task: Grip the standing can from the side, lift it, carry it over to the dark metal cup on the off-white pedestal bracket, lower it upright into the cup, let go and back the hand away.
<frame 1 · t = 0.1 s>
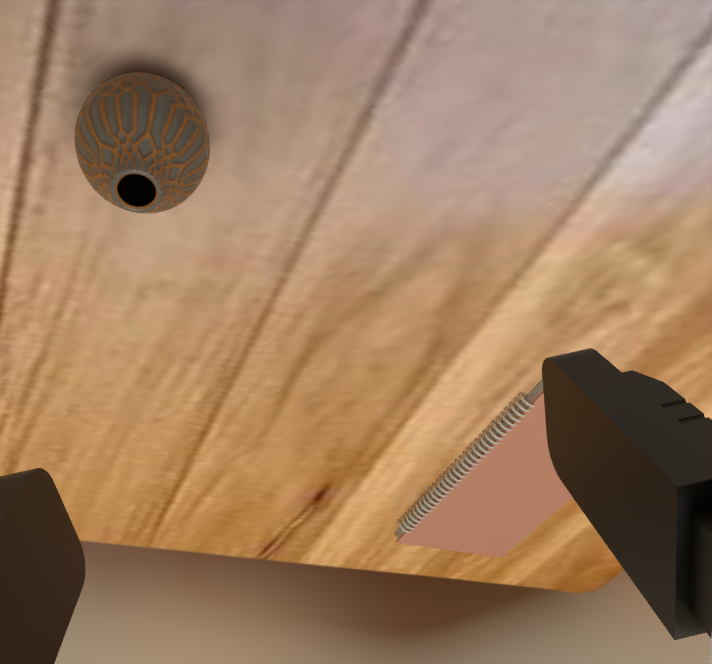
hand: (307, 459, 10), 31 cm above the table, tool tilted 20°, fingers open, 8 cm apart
vase: (149, 114, 38), on the table
notebook: (511, 469, 70), on the table
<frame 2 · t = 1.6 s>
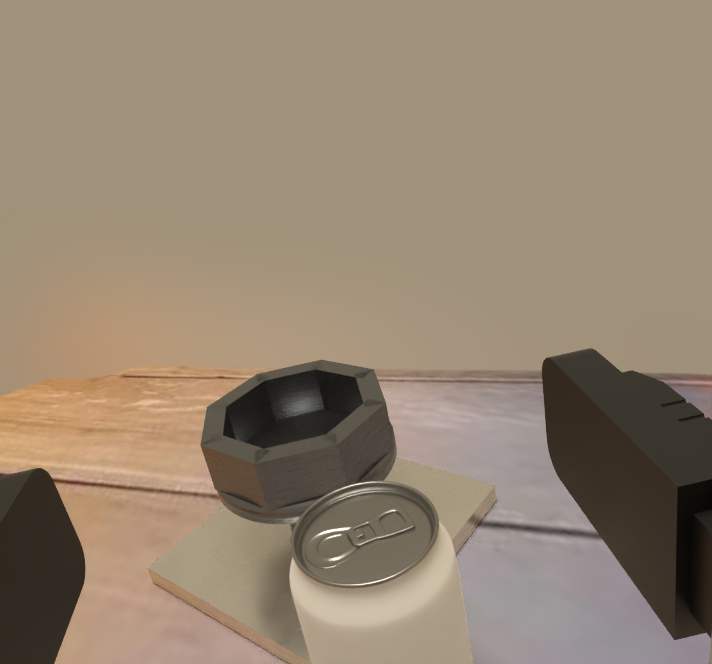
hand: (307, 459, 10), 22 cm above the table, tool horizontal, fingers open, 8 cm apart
cup bracket: (327, 540, 41), on the table
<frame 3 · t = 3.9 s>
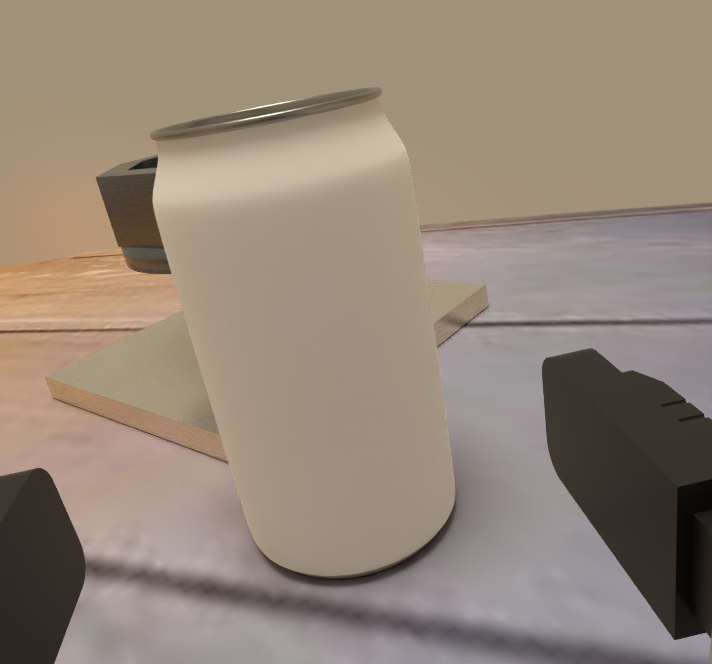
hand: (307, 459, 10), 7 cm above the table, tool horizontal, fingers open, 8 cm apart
can: (355, 514, 20), on the table
cup bracket: (273, 351, 33), on the table
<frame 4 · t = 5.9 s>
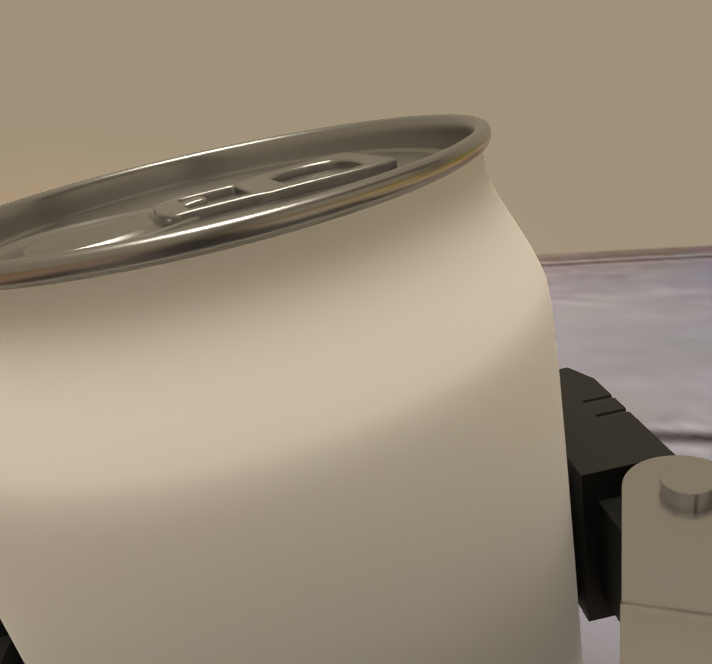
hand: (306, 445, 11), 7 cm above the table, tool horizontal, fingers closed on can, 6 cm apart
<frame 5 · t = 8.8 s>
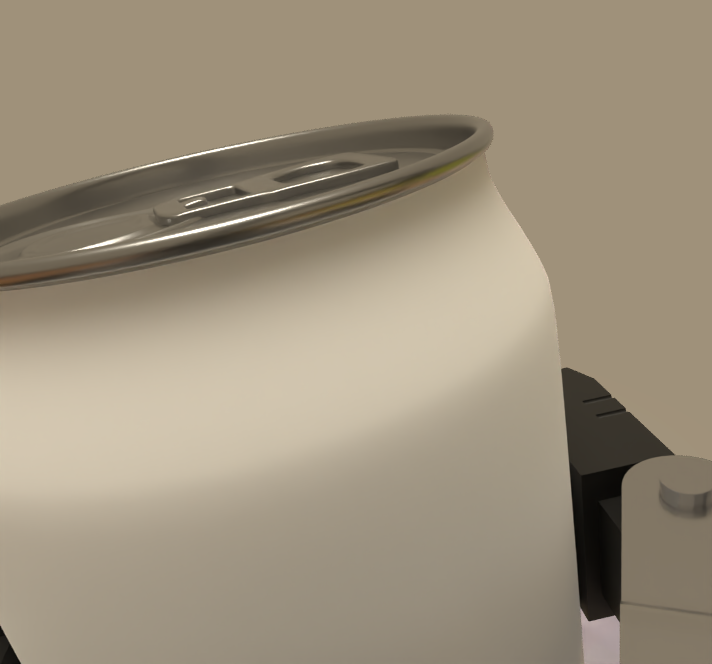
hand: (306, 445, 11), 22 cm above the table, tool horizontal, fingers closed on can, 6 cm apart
when the fingers open (16 cm above the table, at t = 11.3 s): can drops 1 cm, resting on cup bracket.
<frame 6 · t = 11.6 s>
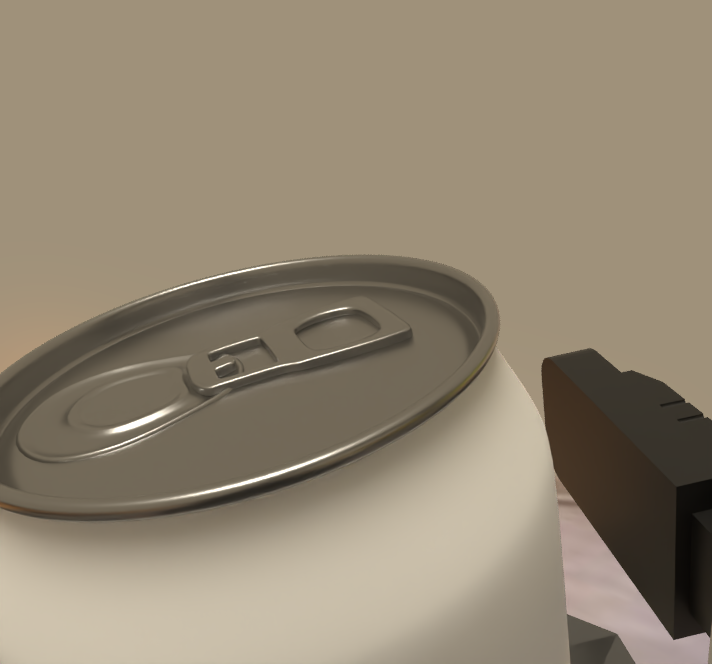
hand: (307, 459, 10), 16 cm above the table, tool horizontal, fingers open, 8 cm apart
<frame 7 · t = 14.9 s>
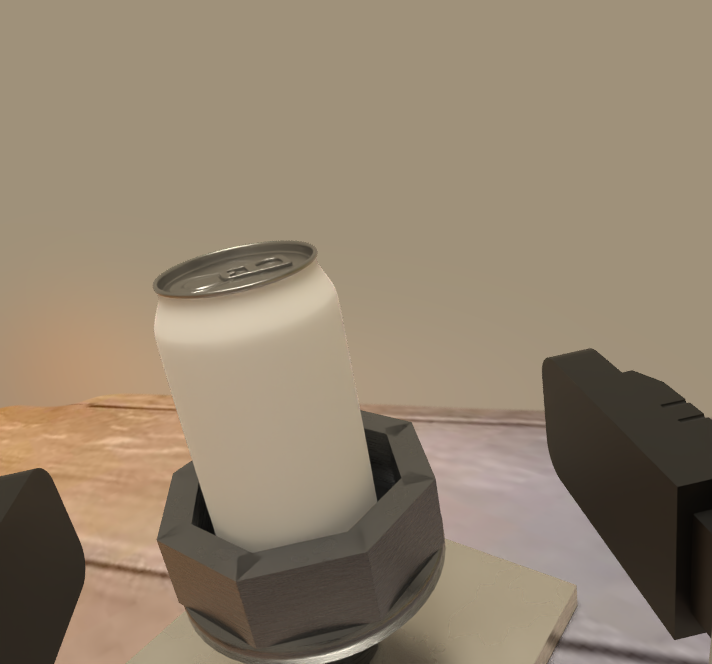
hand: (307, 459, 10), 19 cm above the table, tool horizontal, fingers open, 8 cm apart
can: (305, 547, 26), point 7 cm above the table, touching cup bracket
cup bracket: (340, 660, 29), on the table
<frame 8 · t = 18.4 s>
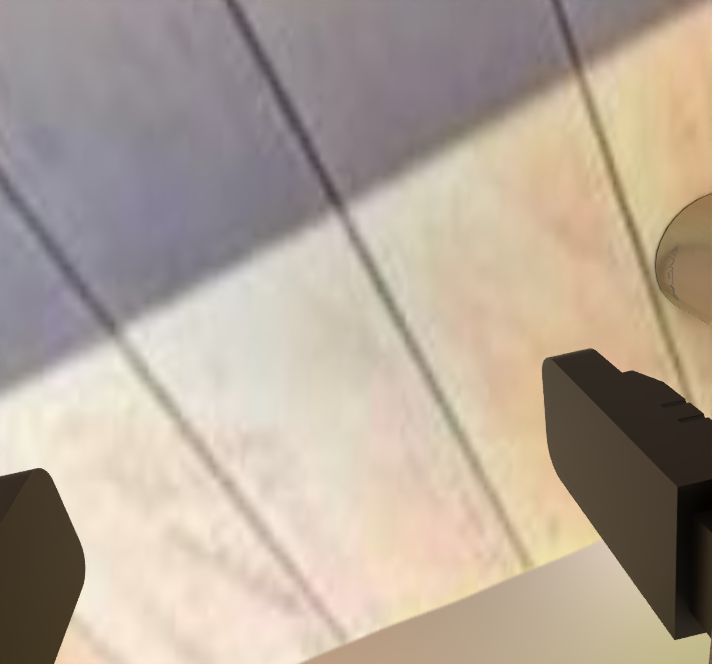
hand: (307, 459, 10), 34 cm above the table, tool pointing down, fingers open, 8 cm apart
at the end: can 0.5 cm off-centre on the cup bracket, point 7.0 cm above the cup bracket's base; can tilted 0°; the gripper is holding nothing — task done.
